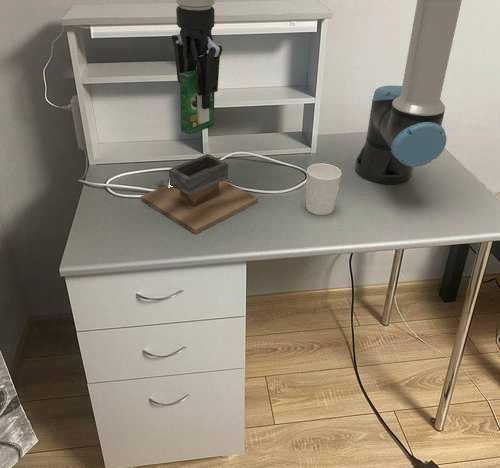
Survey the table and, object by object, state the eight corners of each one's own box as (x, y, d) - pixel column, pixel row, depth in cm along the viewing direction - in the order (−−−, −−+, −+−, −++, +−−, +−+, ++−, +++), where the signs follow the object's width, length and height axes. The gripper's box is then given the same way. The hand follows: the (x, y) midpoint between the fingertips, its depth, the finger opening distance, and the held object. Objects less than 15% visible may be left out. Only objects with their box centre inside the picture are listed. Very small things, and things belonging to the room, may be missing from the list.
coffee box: (207, 122, 121) (206, 65, 113) (215, 126, 119) (215, 68, 112) (180, 132, 116) (177, 72, 109) (188, 136, 114) (187, 76, 107)
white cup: (335, 218, 123) (340, 181, 117) (301, 214, 124) (305, 177, 118) (336, 201, 129) (342, 165, 124) (305, 198, 130) (308, 161, 125)
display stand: (258, 202, 128) (259, 167, 123) (195, 234, 116) (194, 197, 111) (203, 174, 139) (202, 140, 134) (141, 200, 127) (137, 165, 122)
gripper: (155, 1, 105) (162, 113, 119) (208, 15, 96) (209, 135, 110) (184, -3, 110) (187, 105, 123) (237, 10, 101) (235, 125, 114)
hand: (198, 119), depth 116 cm, fingers closed on coffee box, 3 cm apart
